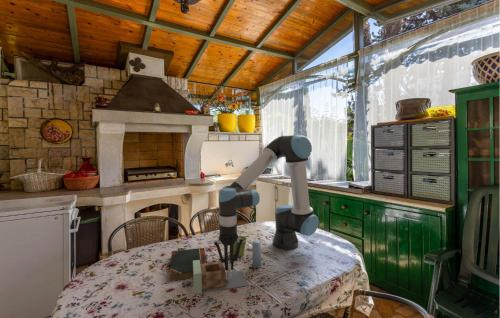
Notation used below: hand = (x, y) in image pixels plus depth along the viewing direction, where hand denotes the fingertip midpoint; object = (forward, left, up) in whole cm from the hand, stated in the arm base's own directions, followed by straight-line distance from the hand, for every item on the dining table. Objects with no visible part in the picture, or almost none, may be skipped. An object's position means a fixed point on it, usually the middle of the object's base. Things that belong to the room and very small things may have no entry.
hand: (229, 276), depth 110 cm
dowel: (-15, -9, -2) cm, 18 cm away
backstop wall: (+14, 0, -2) cm, 14 cm away
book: (+17, -19, -2) cm, 25 cm away
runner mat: (+3, 0, -2) cm, 3 cm away
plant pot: (-9, -24, -2) cm, 26 cm away
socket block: (+7, 0, -2) cm, 7 cm away
